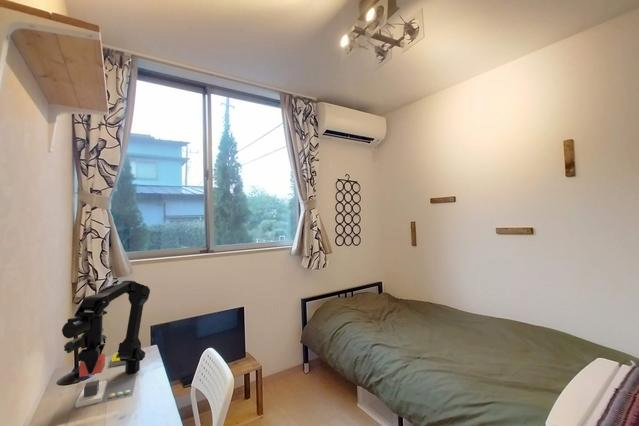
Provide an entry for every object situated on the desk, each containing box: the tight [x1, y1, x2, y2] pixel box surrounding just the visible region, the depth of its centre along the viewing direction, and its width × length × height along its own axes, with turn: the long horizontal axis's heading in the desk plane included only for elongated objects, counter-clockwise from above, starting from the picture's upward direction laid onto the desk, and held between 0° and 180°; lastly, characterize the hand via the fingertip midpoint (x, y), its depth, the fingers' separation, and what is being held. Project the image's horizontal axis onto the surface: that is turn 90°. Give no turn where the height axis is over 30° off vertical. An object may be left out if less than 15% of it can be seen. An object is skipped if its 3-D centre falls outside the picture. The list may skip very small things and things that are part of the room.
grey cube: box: [83, 379, 100, 397], centre depth 115 cm, size 4×4×4 cm
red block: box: [78, 352, 106, 378], centre depth 116 cm, size 7×7×5 cm
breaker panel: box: [70, 376, 137, 411], centre depth 119 cm, size 17×19×3 cm
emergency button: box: [110, 352, 125, 369], centre depth 149 cm, size 9×4×15 cm
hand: (92, 369), depth 115 cm, fingers closed on red block, 7 cm apart
